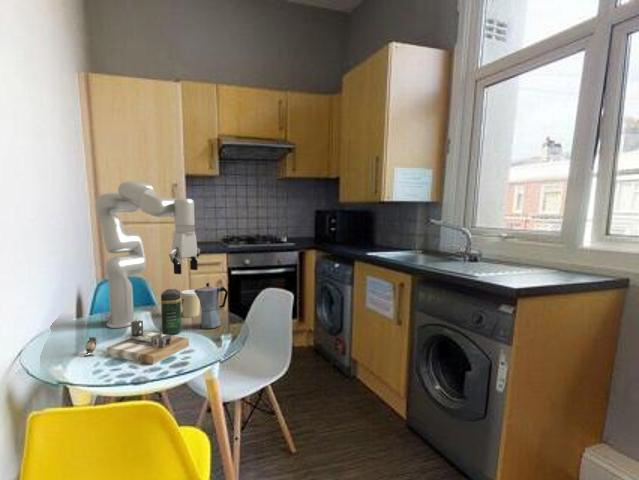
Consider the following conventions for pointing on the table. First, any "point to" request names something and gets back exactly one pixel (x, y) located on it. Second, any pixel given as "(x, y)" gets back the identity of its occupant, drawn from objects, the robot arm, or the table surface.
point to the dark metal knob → (140, 332)
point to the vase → (91, 345)
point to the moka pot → (210, 305)
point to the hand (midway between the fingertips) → (186, 271)
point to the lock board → (148, 348)
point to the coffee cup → (190, 303)
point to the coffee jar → (171, 312)
